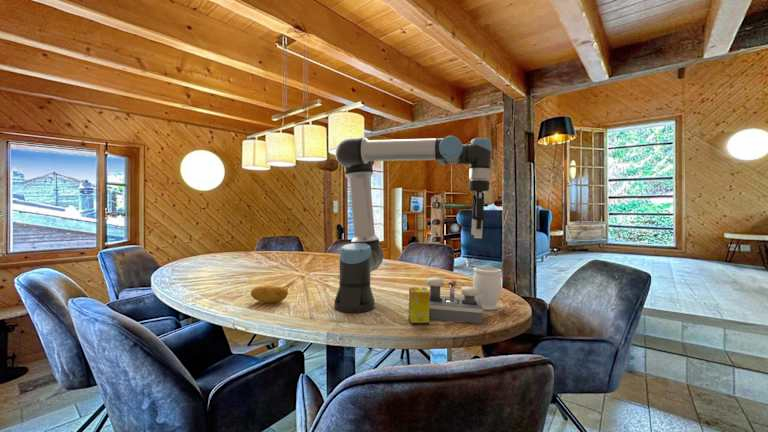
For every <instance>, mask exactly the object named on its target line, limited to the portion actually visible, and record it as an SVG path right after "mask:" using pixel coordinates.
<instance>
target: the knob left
mask: <svg viewBox="0 0 768 432" xmlns="http://www.w3.org/2000/svg"><path fill="white" fill-rule="evenodd" d="M426 283H427V286H429V292H430V299H433V300H439V299H440V296H441V287H443V286H444V278H442V277H436V276H435V277H434V276H433V277H432V276H431V277H428V278H427V282H426Z"/></svg>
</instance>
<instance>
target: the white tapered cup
mask: <svg viewBox="0 0 768 432" xmlns="http://www.w3.org/2000/svg"><path fill="white" fill-rule="evenodd" d="M472 270H473V273H474V274H473V279H472V287H476V288H478V295H477V296H475V298H478V299H480V301H481V304H482V308H483V311H486V310H487V311H495V310H497V309H498V305H497V304H498V302H499V299H500V294H501V288H502V279H501V273H502V269H500V268H497V267H494V266H493V267H492V266H483V265H482V266H480V265H479V266H474V267H473V269H472Z"/></svg>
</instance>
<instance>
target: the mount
mask: <svg viewBox="0 0 768 432" xmlns="http://www.w3.org/2000/svg"><path fill="white" fill-rule="evenodd" d="M449 299H450V295H440V299H439V300H433V299H430V303H429V320H438V319H439V321H449V320H450V321H451V322H460V321H462V322H461V323H474V324H483V312H484V310H483V308H482V304H481V301H480V299H478V298H475V305H470V304H464V297H462V296H454V300H457V301H458V304H457V303H446V300H449Z"/></svg>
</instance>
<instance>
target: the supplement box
mask: <svg viewBox="0 0 768 432" xmlns="http://www.w3.org/2000/svg"><path fill="white" fill-rule="evenodd" d="M408 288H409V289H408V292H409V293H408V320H409V322H410V325H411V326H426V325H427V326H428V325H430V319H429V303H430V290H429V289H427V287H425V286H424V287H421V286H420V287H417V286H414V287H408Z"/></svg>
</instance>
